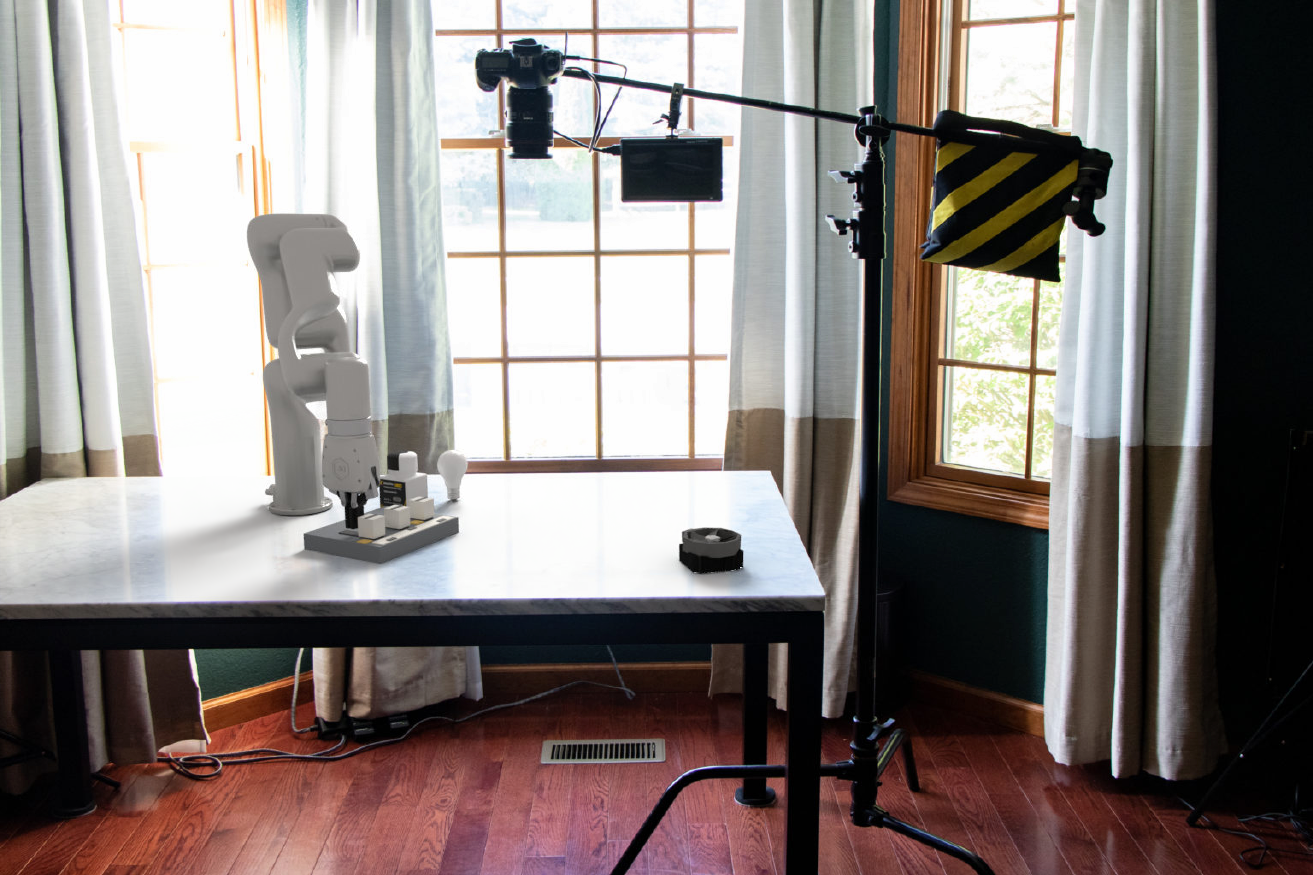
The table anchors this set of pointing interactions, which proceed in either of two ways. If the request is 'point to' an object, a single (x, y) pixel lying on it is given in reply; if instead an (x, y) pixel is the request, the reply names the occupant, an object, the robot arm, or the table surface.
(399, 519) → the switch
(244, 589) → the table surface
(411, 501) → the switch
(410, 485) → the medicine bottle
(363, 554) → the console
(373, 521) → the switch
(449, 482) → the lightbulb
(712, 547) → the cpu cooler
